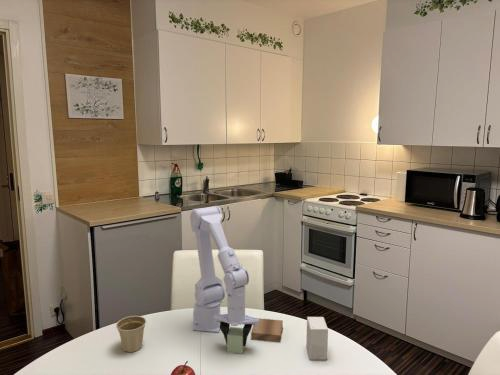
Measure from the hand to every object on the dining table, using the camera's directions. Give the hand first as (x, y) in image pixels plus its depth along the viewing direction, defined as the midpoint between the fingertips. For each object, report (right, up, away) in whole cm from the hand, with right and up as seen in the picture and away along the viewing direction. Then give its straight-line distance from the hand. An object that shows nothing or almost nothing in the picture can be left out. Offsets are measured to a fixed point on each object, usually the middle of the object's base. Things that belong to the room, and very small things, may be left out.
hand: (236, 343), depth 124 cm
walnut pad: (+11, -1, +10) cm, 14 cm away
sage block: (0, -2, 0) cm, 2 cm away
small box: (+26, -2, -2) cm, 26 cm away
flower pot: (-34, -2, +1) cm, 34 cm away
